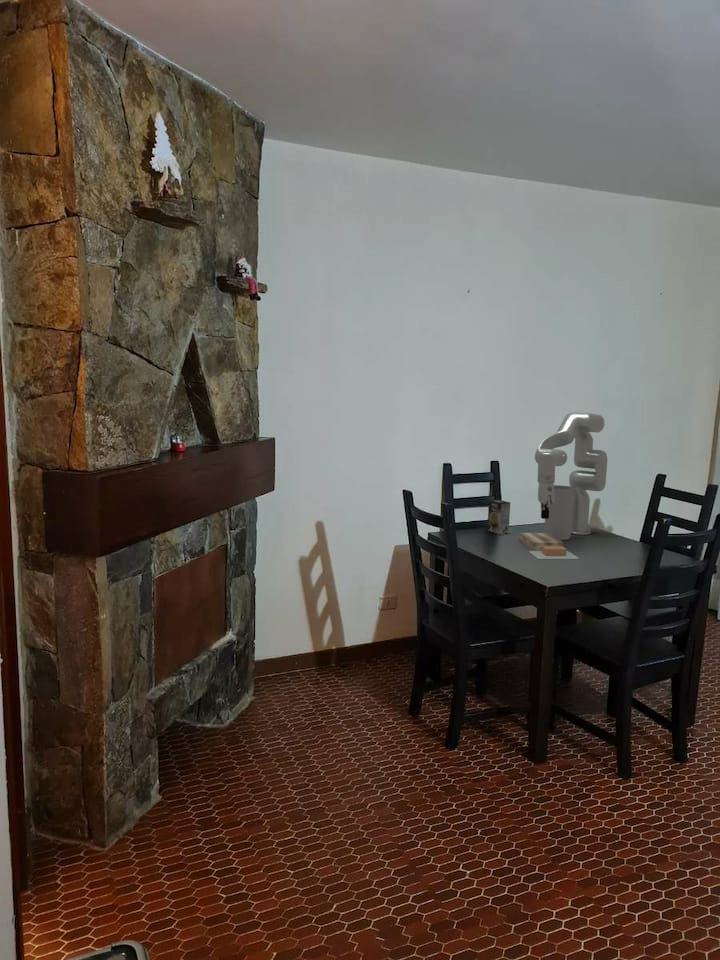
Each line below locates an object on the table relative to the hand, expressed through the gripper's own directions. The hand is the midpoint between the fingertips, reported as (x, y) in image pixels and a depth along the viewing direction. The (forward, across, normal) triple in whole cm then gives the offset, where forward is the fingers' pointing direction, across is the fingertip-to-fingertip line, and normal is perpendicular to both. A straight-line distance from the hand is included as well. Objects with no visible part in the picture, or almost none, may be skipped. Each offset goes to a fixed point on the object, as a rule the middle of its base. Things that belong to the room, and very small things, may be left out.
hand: (544, 518), depth 319 cm
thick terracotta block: (+11, -15, +1) cm, 19 cm away
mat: (+13, -16, +1) cm, 21 cm away
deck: (+13, +2, +1) cm, 14 cm away
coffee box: (+14, +30, +13) cm, 36 cm away
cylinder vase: (+15, +18, -13) cm, 27 cm away
